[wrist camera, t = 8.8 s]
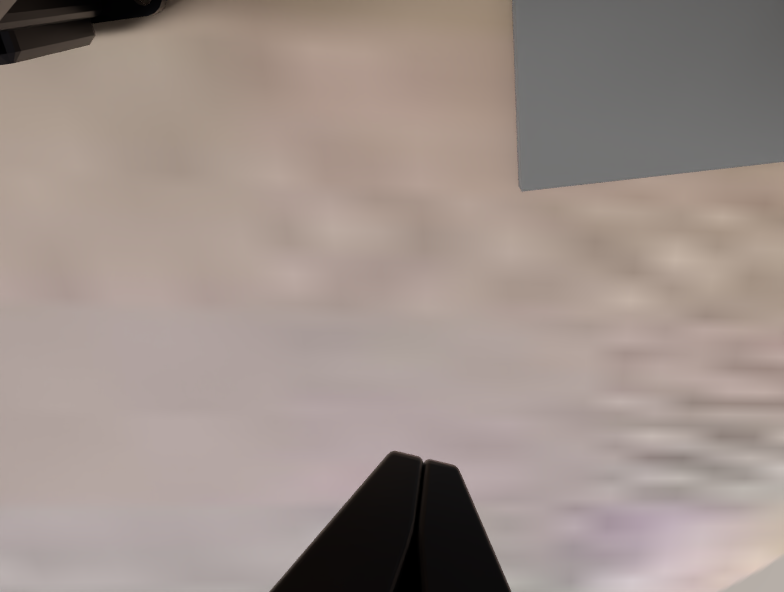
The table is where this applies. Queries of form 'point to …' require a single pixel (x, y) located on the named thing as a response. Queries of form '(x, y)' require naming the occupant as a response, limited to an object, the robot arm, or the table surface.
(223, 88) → the table surface
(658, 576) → the table surface
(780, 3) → the rubber mat
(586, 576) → the table surface
